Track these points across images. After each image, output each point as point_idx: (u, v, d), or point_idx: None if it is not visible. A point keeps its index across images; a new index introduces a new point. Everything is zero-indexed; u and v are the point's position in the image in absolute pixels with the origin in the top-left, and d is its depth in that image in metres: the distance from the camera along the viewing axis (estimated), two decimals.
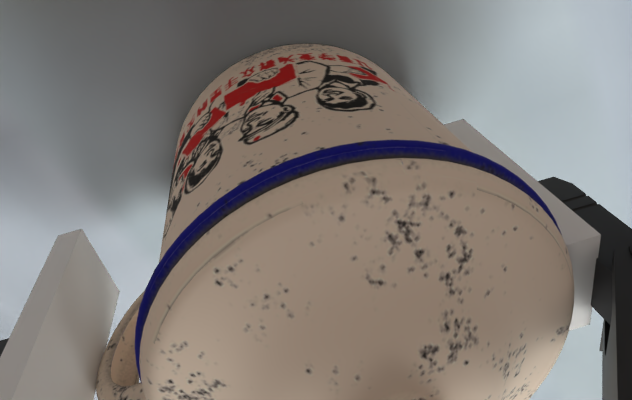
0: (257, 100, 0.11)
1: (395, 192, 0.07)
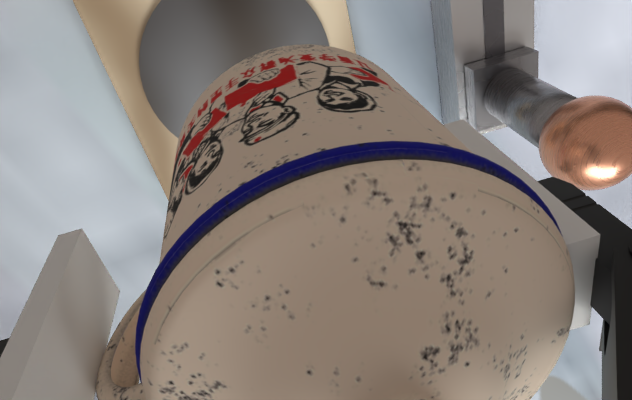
0: (258, 101, 0.11)
1: (396, 193, 0.07)
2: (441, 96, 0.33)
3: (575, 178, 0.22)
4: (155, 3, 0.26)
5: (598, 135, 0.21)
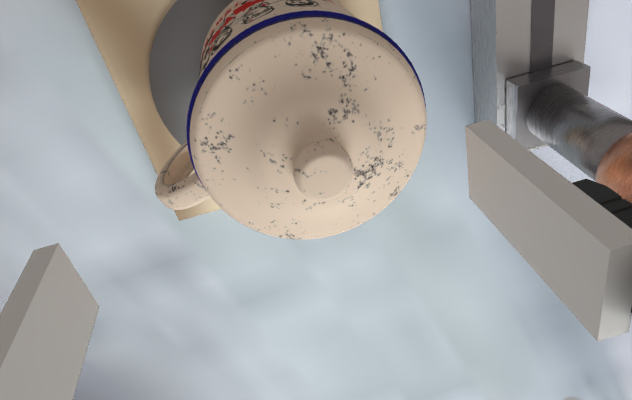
0: (252, 7, 0.20)
1: (315, 31, 0.16)
2: (476, 110, 0.30)
3: None
4: (168, 6, 0.23)
5: None
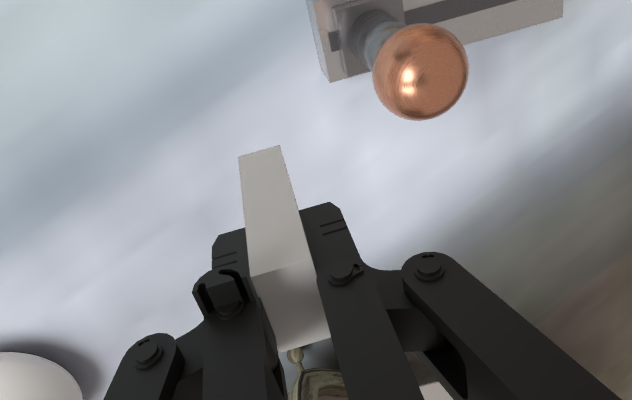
0: None
1: None
2: None
3: (412, 50, 0.21)
4: None
5: (460, 56, 0.21)
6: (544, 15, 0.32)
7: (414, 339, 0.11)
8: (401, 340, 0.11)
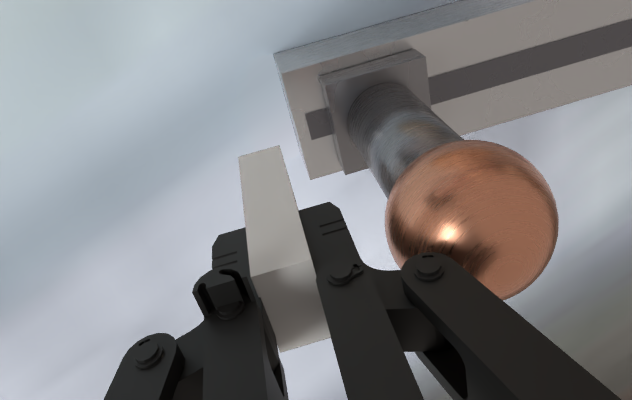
0: None
1: None
2: (320, 42, 0.22)
3: (461, 206, 0.11)
4: None
5: (549, 213, 0.11)
6: (619, 79, 0.22)
7: (414, 339, 0.11)
8: (401, 340, 0.11)
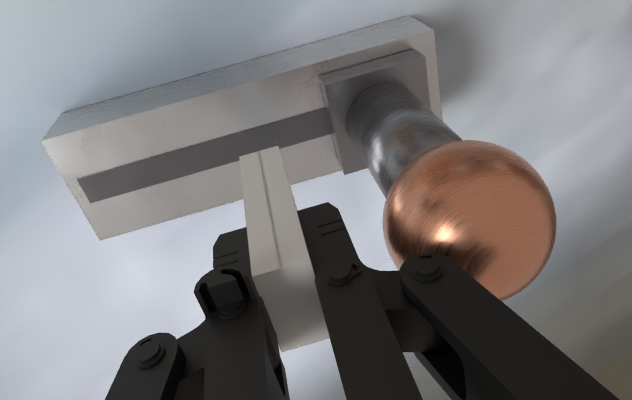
0: None
1: None
2: (107, 101, 0.21)
3: (458, 207, 0.11)
4: None
5: (546, 214, 0.11)
6: None
7: (413, 339, 0.11)
8: (399, 340, 0.11)
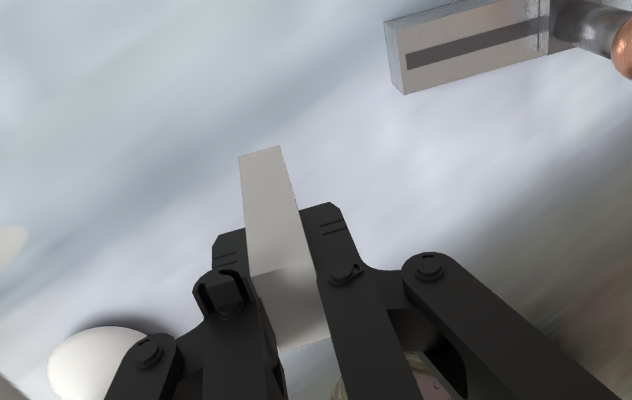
0: None
1: None
2: (410, 15, 0.38)
3: None
4: None
5: None
6: None
7: (414, 339, 0.11)
8: (401, 340, 0.11)
